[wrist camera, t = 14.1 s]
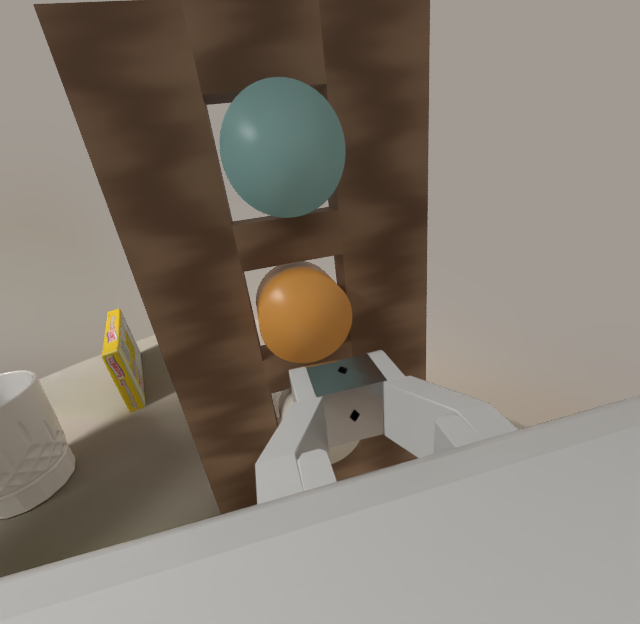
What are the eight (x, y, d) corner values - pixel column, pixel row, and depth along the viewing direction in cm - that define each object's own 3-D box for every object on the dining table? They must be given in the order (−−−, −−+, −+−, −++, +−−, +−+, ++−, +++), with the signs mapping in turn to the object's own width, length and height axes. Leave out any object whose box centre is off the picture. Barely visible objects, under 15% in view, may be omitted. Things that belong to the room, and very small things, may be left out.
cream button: (291, 475, 21) (278, 415, 19) (284, 436, 24) (272, 381, 22) (364, 454, 22) (359, 394, 20) (348, 419, 25) (342, 365, 23)
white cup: (13, 538, 25) (-63, 442, 21) (-46, 516, 28) (-123, 427, 24) (102, 457, 32) (57, 373, 28) (48, 445, 34) (0, 367, 30)
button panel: (226, 528, 24) (33, 4, 12) (229, 448, 31) (111, 72, 19) (424, 468, 26) (430, -11, 14) (384, 406, 34) (366, 53, 22)
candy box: (126, 358, 51) (106, 311, 48) (141, 353, 52) (122, 307, 49) (127, 414, 38) (99, 354, 35) (146, 407, 39) (121, 347, 35)
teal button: (236, 226, 13) (204, 82, 11) (236, 218, 16) (211, 104, 14) (350, 208, 14) (339, 71, 12) (330, 203, 17) (318, 94, 15)
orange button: (269, 372, 18) (250, 286, 16) (264, 343, 21) (248, 268, 19) (355, 351, 18) (348, 267, 16) (338, 327, 22) (330, 254, 20)
